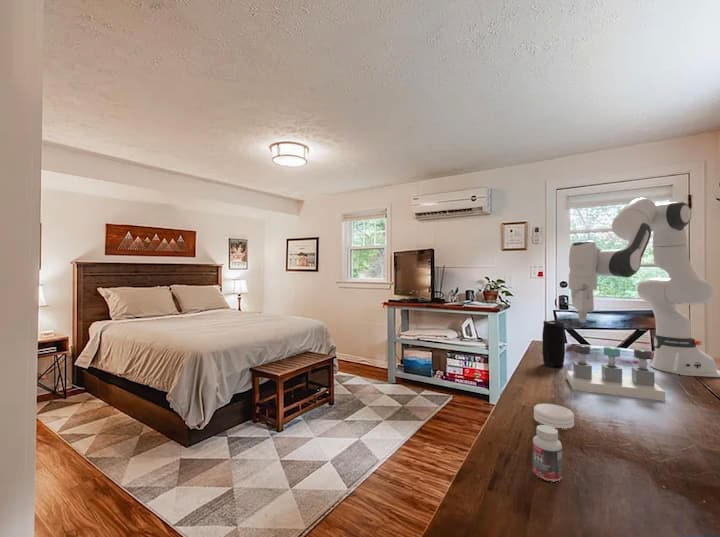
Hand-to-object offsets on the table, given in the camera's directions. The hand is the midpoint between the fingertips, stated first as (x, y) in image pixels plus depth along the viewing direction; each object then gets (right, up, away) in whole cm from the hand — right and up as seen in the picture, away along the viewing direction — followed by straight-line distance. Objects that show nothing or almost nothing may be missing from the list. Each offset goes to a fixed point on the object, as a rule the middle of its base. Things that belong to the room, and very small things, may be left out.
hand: (582, 322), depth 129 cm
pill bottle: (-43, -24, -56) cm, 75 cm away
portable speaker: (+4, -23, +26) cm, 35 cm away
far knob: (0, -15, 0) cm, 15 cm away
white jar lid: (-27, -24, -30) cm, 47 cm away
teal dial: (+8, -15, -4) cm, 18 cm away
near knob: (+17, -15, -7) cm, 24 cm away
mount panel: (+8, -23, -3) cm, 25 cm away
